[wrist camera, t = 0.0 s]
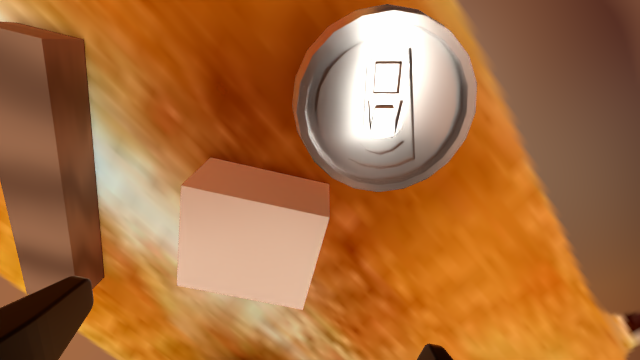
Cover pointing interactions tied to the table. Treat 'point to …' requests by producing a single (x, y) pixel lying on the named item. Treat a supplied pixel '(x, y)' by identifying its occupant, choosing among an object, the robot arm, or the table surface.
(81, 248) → the board
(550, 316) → the table surface
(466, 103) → the beer can
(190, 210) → the block
